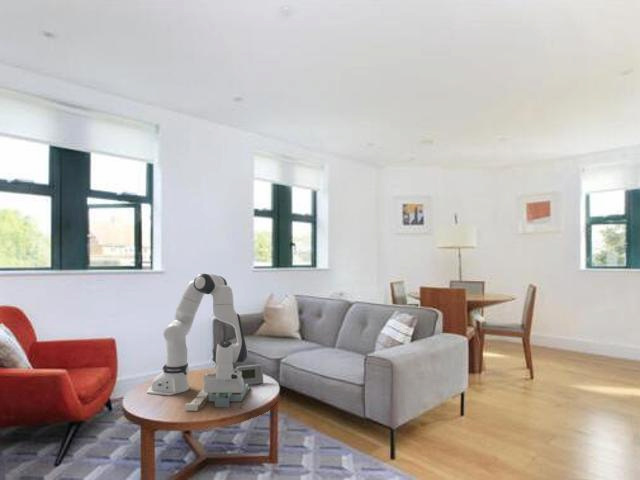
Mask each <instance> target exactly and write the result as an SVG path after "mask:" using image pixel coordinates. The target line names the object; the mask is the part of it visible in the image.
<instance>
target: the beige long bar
mask: <svg viewBox="0 0 640 480" xmlns="http://www.w3.org/2000/svg"><path fill="white" fill-rule="evenodd" d="M209 394H210V393H205V392H204V388H203V389H201V390H200V392H199V393H198V394H197V395H196V397H195V398H193V399H192V401H191V402H190V403H189V402H188V403H185V405H184V411H185V412H186V411H193V412H194V411H197V412H198V410H199V407H201V406H202V404H203V403H204V402H205V399H207V398H208V397H209Z"/></svg>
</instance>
